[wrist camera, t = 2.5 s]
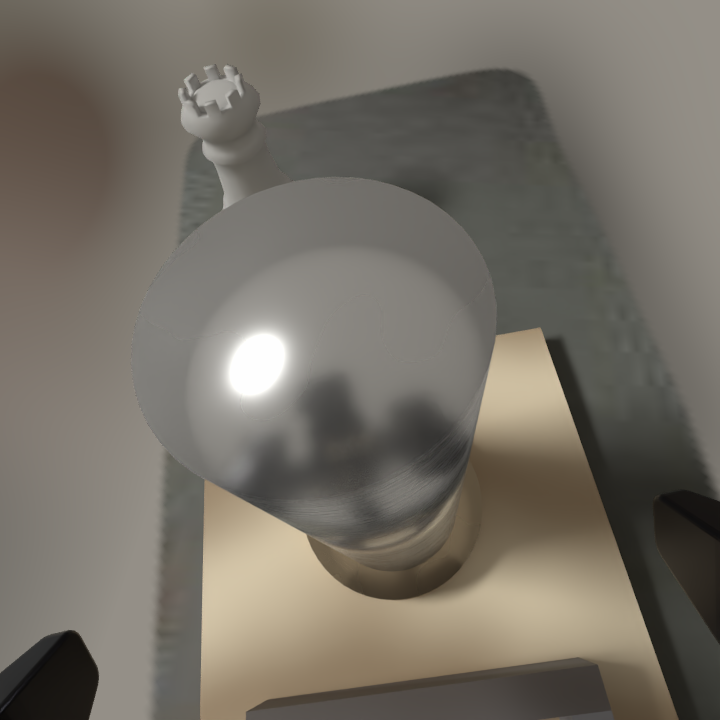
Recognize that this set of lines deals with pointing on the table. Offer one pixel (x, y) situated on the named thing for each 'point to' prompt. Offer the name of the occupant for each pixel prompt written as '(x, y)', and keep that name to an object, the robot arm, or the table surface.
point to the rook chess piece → (230, 132)
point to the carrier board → (443, 595)
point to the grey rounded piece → (329, 372)
